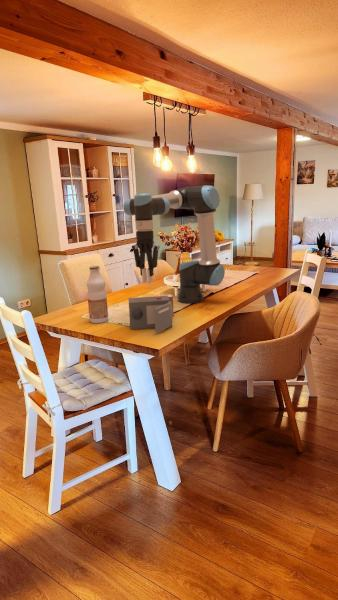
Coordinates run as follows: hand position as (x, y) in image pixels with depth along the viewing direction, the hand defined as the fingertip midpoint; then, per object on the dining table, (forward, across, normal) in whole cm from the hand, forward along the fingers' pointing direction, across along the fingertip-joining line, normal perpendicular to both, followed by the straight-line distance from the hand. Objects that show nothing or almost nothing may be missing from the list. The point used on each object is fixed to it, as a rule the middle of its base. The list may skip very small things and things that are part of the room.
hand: (147, 282), depth 180 cm
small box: (+23, -5, +24) cm, 33 cm away
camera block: (+22, -4, +6) cm, 24 cm away
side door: (+22, +7, +2) cm, 23 cm away
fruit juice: (+23, -32, +3) cm, 39 cm away
